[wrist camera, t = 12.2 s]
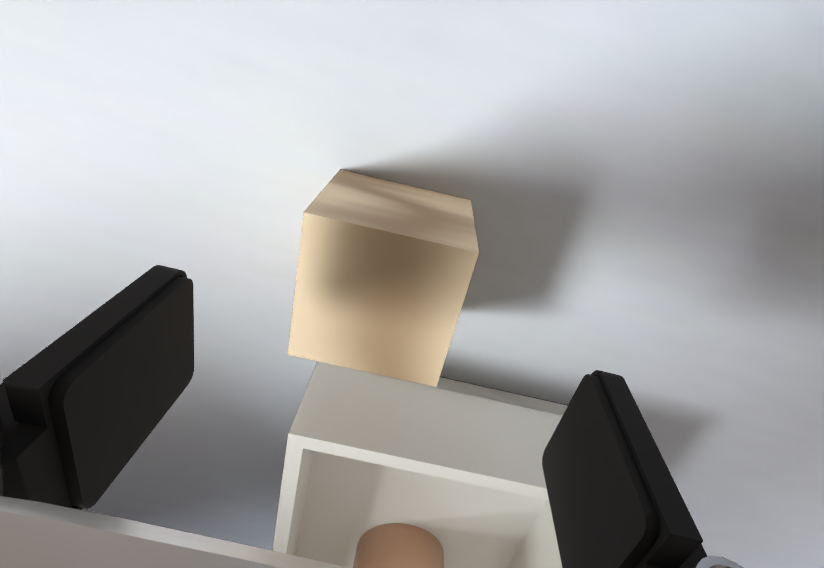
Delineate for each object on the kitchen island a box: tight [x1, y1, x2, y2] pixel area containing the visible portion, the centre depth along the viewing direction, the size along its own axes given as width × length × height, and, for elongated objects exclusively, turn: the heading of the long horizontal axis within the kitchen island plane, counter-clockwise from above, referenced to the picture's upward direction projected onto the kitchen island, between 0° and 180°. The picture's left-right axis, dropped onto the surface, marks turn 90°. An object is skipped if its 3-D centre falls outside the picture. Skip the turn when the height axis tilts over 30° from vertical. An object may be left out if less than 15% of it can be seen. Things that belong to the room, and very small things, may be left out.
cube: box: [288, 169, 479, 387], centre depth 16 cm, size 5×5×5 cm
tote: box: [272, 361, 568, 568], centre depth 23 cm, size 13×17×5 cm
